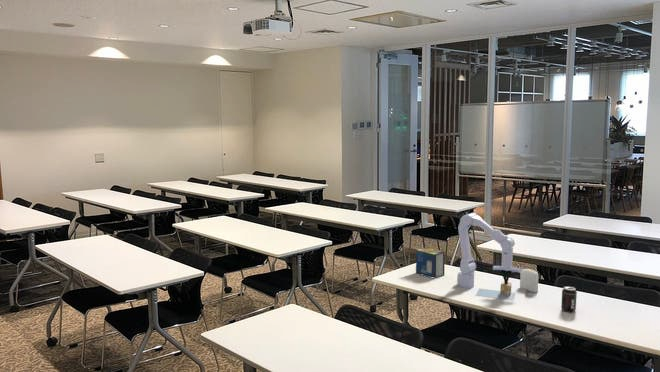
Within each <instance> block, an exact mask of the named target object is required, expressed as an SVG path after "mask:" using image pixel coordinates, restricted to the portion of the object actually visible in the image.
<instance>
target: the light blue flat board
mask: <svg viewBox="0 0 660 372" xmlns="http://www.w3.org/2000/svg"><path fill="white" fill-rule="evenodd" d="M516 294H517V293H516V292H512V291H511V295H510V296H506V295H500V290H496V289H488V288H487V289H485V288H478V290H477V292H476V293H475V295H474V296H475V297H481V298H491V299H496V300H505V301H513V302H514V300H515V297H516Z"/></svg>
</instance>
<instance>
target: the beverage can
mask: <svg viewBox="0 0 660 372" xmlns="http://www.w3.org/2000/svg"><path fill="white" fill-rule="evenodd" d="M577 297H578V292H577V290H576V288H575V287H574V286H563V289H562V290H561V306H560V307H561V308H560V309H562V311H564V312H567V313H574V312H576V310H577Z"/></svg>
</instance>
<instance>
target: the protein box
mask: <svg viewBox="0 0 660 372" xmlns="http://www.w3.org/2000/svg"><path fill="white" fill-rule="evenodd" d="M415 251H416V255H415V274H418V273H419V274H418V275H421V274H423V275H422V276H425V275H426V276H425V277H428V276H430V277H429V278H431V277H436V278H438V277H437V276H440V277H442V276H441V275H443V276H445V264H446V262H445V259H446V252H445V250H444V251H443V250H439V249H435V248H430V247H422V248H417V249H416V250H415Z"/></svg>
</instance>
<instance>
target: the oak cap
mask: <svg viewBox="0 0 660 372" xmlns="http://www.w3.org/2000/svg"><path fill="white" fill-rule="evenodd" d="M499 291H500V295H506V296H510V295H511V292H512V282H510V281H508V284H505V282H504V281H501V283H500V290H499Z"/></svg>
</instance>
